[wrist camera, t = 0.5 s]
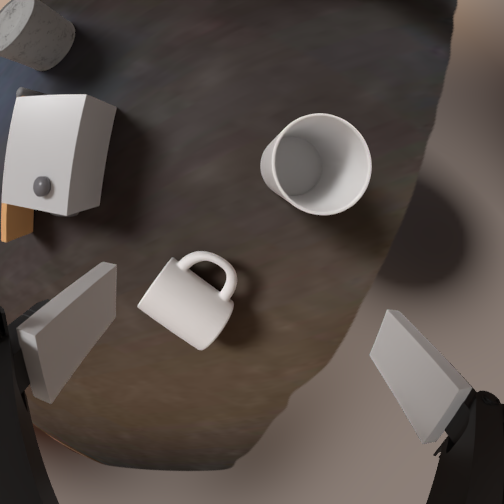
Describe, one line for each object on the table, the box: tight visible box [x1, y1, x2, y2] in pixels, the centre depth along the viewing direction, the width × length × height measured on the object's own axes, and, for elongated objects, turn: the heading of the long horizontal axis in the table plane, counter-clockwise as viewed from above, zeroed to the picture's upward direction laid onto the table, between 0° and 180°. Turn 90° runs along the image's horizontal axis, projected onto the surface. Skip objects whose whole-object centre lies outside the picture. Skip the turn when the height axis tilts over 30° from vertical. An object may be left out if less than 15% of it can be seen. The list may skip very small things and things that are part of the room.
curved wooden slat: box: [1, 87, 47, 242], centre depth 32 cm, size 22×2×7 cm, turn 168°
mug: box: [138, 251, 237, 350], centre depth 38 cm, size 12×10×8 cm
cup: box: [260, 113, 372, 215], centre depth 30 cm, size 8×8×16 cm
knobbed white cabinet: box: [2, 94, 117, 217], centre depth 31 cm, size 15×12×10 cm
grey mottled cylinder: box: [0, 0, 75, 71], centre depth 25 cm, size 10×10×12 cm
